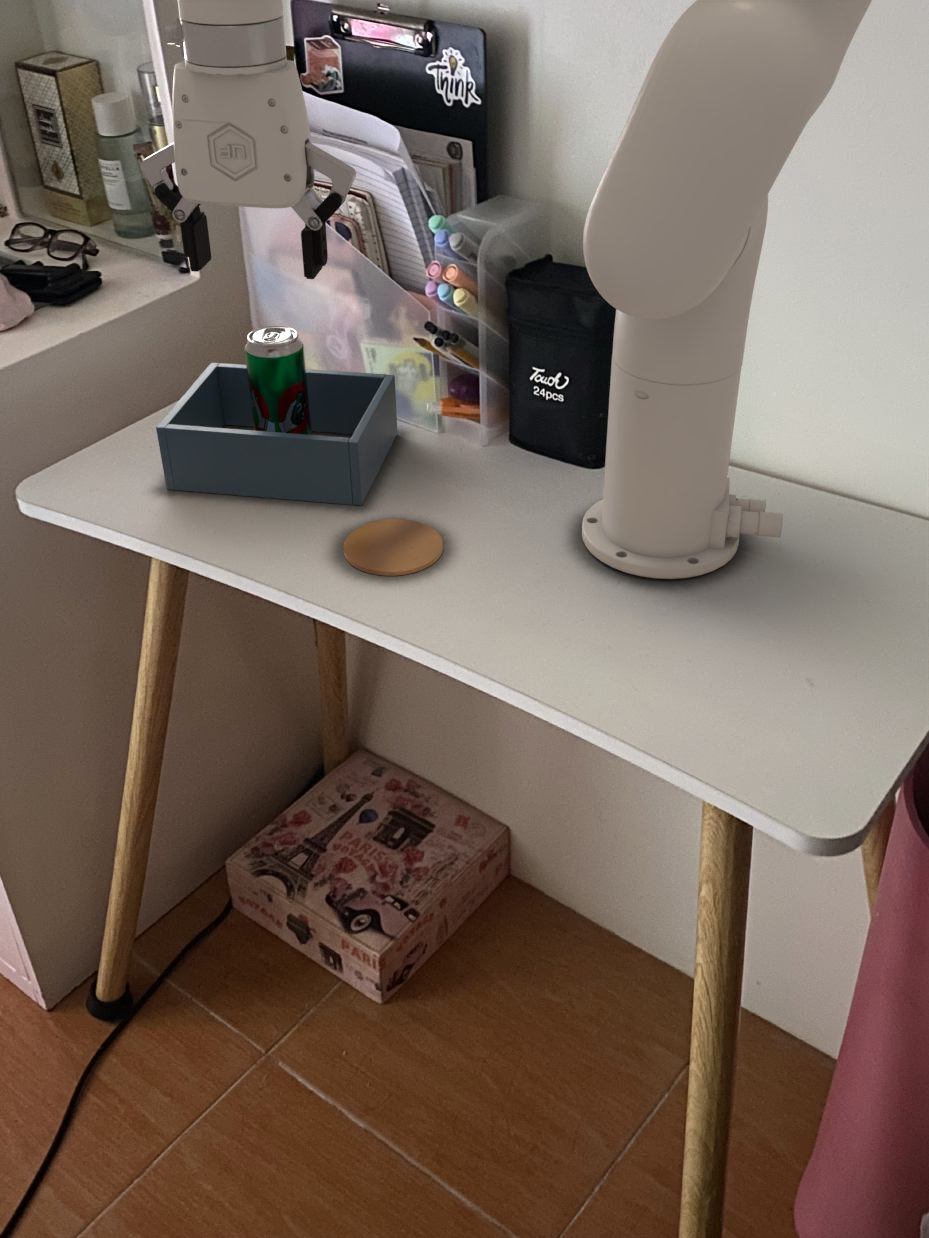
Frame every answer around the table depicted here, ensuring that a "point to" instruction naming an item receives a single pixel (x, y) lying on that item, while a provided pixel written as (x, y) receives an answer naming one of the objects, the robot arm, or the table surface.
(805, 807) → the table surface
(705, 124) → the robot arm
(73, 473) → the table surface
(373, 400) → the frame
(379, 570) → the coaster
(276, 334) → the soda can
